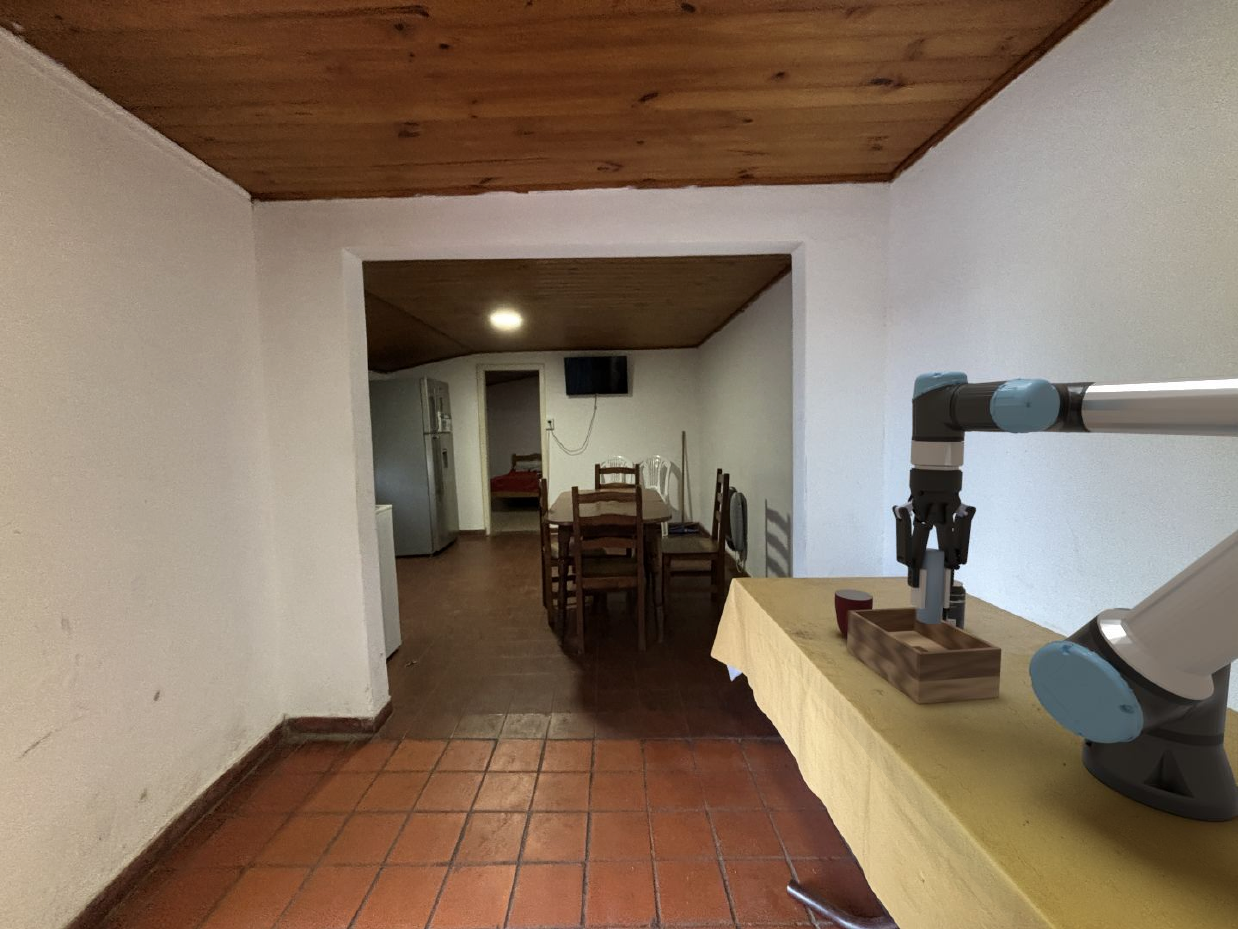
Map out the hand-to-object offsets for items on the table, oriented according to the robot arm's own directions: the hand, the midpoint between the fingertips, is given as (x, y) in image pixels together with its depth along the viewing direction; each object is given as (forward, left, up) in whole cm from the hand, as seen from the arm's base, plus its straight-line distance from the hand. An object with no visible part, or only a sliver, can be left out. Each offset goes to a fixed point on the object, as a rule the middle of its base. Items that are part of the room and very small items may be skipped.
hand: (929, 605), depth 89 cm
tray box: (+13, -9, -19) cm, 24 cm away
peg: (0, 0, -3) cm, 3 cm away
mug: (+30, -6, -19) cm, 36 cm away
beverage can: (+31, -31, -19) cm, 48 cm away
